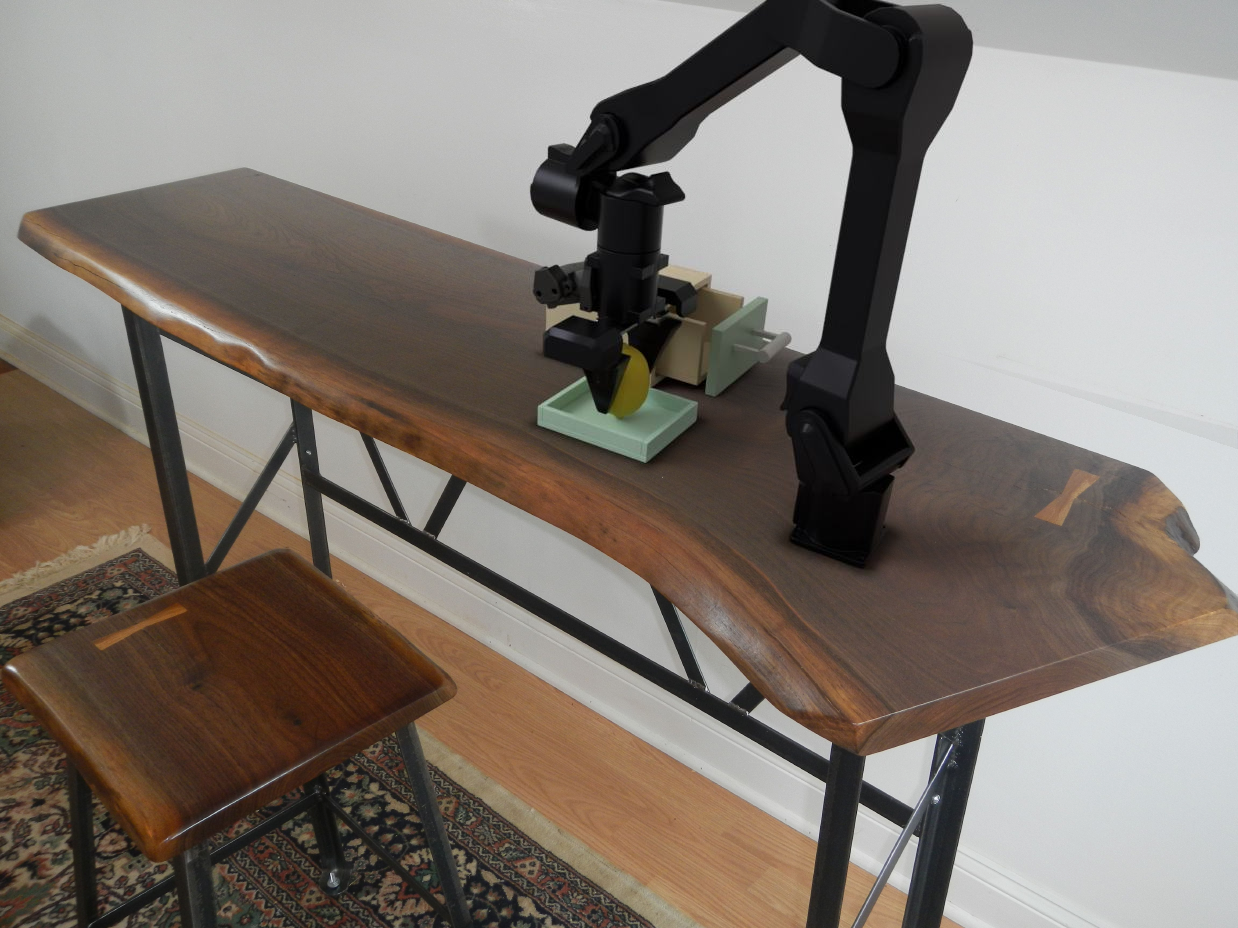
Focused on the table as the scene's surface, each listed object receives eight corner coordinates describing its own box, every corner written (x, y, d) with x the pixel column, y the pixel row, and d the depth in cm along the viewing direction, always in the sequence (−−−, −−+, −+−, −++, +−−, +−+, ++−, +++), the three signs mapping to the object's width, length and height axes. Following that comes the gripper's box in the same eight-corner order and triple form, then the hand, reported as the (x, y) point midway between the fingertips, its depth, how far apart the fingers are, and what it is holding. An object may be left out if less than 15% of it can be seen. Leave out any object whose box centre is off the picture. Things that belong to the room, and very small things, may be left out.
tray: (696, 421, 95) (698, 402, 94) (646, 463, 88) (647, 443, 87) (593, 387, 101) (594, 369, 100) (537, 425, 93) (537, 406, 92)
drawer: (794, 370, 105) (805, 307, 101) (752, 408, 96) (761, 342, 93) (662, 332, 112) (667, 273, 108) (611, 365, 103) (614, 302, 100)
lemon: (647, 433, 92) (653, 356, 87) (589, 430, 91) (592, 353, 87) (646, 406, 96) (652, 333, 92) (592, 403, 96) (595, 329, 92)
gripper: (607, 205, 95) (600, 348, 103) (492, 251, 81) (494, 413, 89) (707, 227, 91) (691, 376, 99) (602, 280, 77) (595, 448, 85)
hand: (619, 400), depth 93 cm, fingers open, 6 cm apart
